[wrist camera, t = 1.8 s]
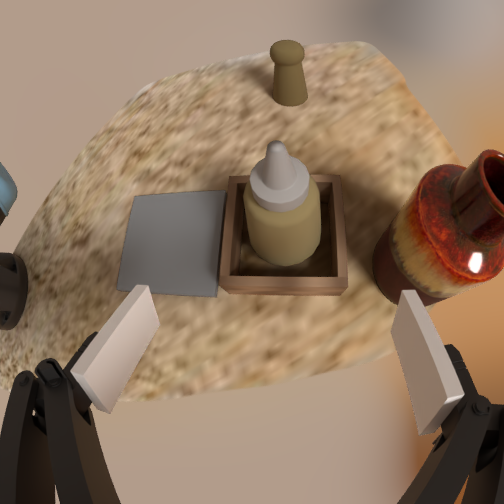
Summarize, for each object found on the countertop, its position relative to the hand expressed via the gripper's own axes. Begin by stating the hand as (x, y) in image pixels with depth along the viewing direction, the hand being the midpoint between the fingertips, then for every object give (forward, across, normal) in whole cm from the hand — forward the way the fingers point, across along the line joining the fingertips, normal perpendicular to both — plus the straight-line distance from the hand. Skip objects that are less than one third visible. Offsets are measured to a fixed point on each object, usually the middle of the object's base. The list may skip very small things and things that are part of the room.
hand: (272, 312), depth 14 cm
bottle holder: (+21, 0, -6) cm, 21 cm away
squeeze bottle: (+21, 0, -6) cm, 22 cm away
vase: (+19, +16, -8) cm, 26 cm away
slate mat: (+21, -15, -6) cm, 26 cm away
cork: (+40, +1, +13) cm, 42 cm away
